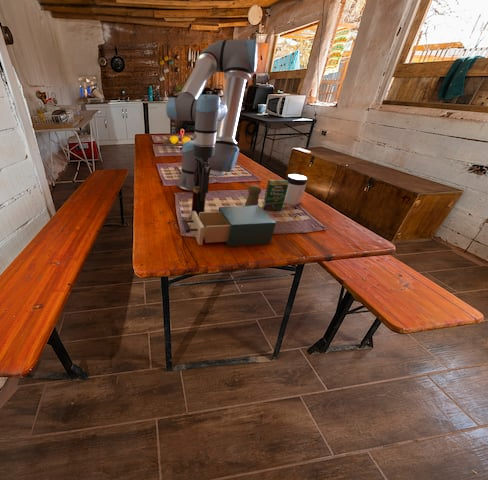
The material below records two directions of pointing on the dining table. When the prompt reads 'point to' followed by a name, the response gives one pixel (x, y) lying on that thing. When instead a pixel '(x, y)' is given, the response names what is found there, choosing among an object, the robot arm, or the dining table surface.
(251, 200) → the olive peanut shape
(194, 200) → the tin
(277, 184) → the coffee box
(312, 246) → the dining table surface
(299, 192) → the jar
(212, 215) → the drawer
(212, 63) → the robot arm
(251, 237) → the cabinet
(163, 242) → the dining table surface
